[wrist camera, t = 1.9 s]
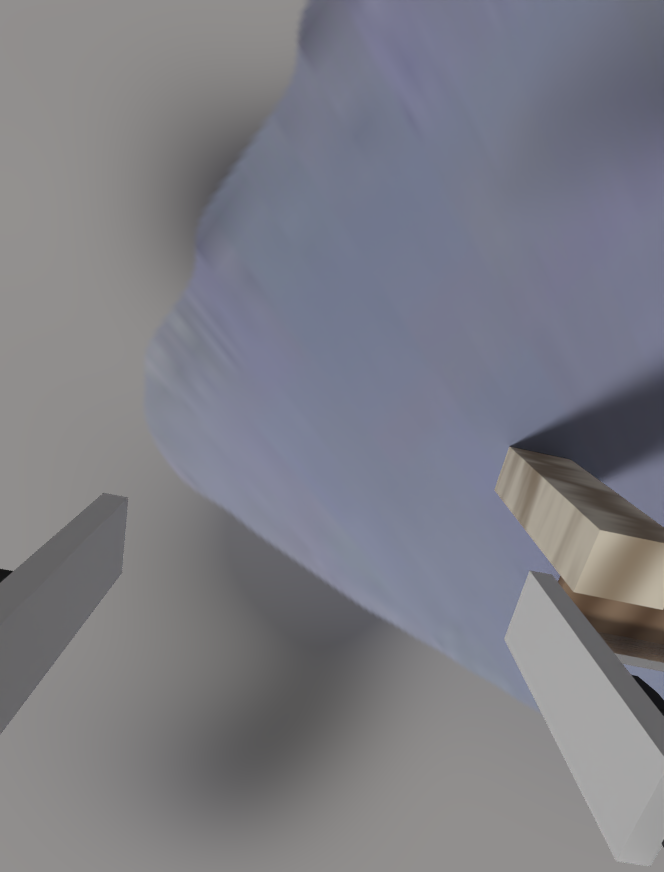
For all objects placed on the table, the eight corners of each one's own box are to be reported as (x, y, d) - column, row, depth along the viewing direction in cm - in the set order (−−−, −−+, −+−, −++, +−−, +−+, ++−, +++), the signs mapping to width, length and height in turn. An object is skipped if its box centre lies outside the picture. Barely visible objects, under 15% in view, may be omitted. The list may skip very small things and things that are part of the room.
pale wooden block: (494, 489, 45) (573, 591, 30) (509, 446, 44) (600, 530, 28) (554, 502, 45) (662, 609, 30) (570, 459, 44) (693, 549, 29)
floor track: (540, 623, 49) (557, 651, 46) (575, 540, 46) (596, 563, 43) (702, 654, 50) (731, 684, 46) (745, 575, 47) (781, 600, 43)
